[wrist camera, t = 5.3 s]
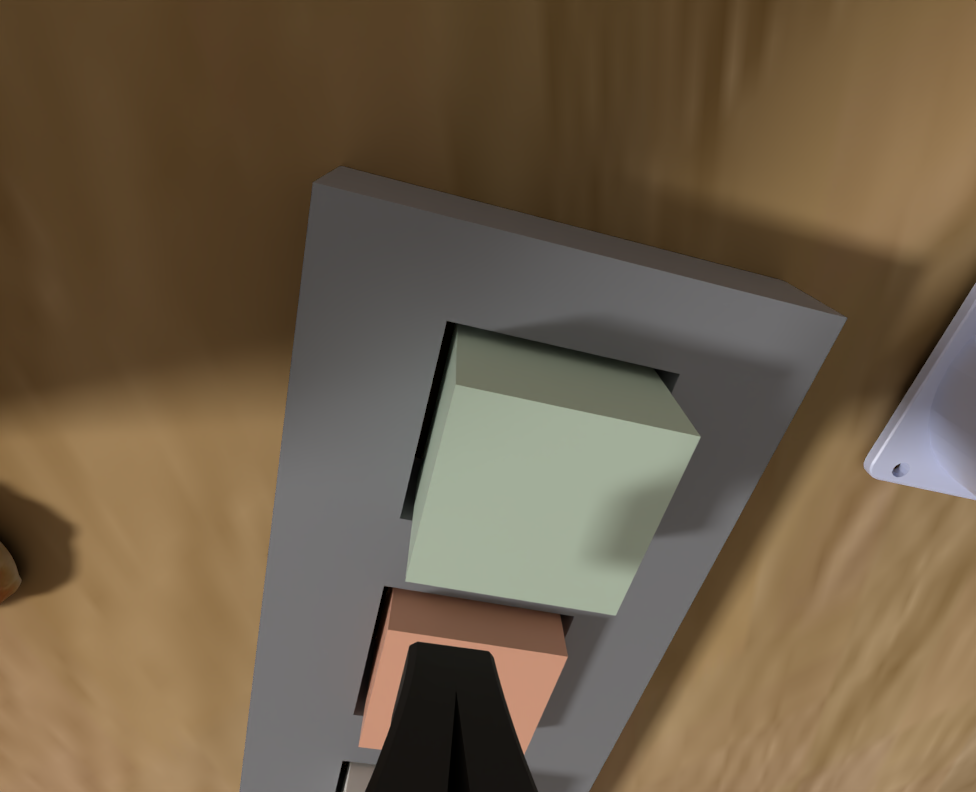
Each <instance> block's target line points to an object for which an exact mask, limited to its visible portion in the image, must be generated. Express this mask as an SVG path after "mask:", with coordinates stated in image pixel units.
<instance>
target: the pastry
mask: <svg viewBox="0 0 976 792" xmlns="http://www.w3.org/2000/svg"><path fill="white" fill-rule="evenodd" d="M21 581H22V580H21V578H20V576H19V574H18V570H17V567H16V564H15V562H14V560H13V558H12V556H11V554H10V553H9V552H8V550H7V549H6V548H5V547H4V545H3V544H2V543H1V542H0V604H1V603H2V602H3V601H4V600H5V599H6V598H7V597H9V596H10V595H12V594H13V593H14V592H15V591H16V590H17V589H18V587H19V586H20V584H21Z"/></svg>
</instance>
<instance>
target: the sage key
mask: <svg viewBox="0 0 976 792" xmlns="http://www.w3.org/2000/svg"><path fill="white" fill-rule="evenodd" d="M700 438H701V436H700V435H699V433H698V432H697V430H696V429H695V428H694V426H693V425H692V423H691V422H690V420H689V419H688V417H687V416H686V415H685V413H684V412H683V410H682V409H681V407H680V406H679V404H678V403H677V402H676V400H675V399H674V397H673V396H672V394H671V393H670V391H669V390H668V388H667V387H666V386H665V384H664V383H663V381H662V380H661V378H660V377H659V375H658V374H657V373H656V371H655V370H654V368H651V367H647V366H642V365H638V364H634V363H629V362H625V361H621V360H616V359H612V358H607V357H603V356H599V355H594V354H590V353H586V352H581V351H577V350H572V349H568V348H564V347H559V346H555V345H551V344H546V343H542V342H537V341H533V340H529V339H524V338H520V337H515V336H511V335H507V334H502V333H498V332H494V331H489V330H485V329H480V328H476V327H472V326H467V325H463V324H459V323H455V326H454V330H453V334H452V339H451V343H450V347H449V351H448V355H447V359H446V363H445V367H444V371H443V375H442V380H441V384H440V388H439V392H438V396H437V400H436V404H435V408H434V412H433V416H432V421H431V425H430V429H429V433H428V437H427V441H426V445H425V449H424V453H423V457H422V462H421V466H420V470H419V474H418V478H417V486H416V494H415V503H414V511H413V520H412V528H411V537H410V545H409V553H408V562H407V570H406V579H405V581H406V582H412V583H418V584H424V585H431V586H437V587H443V588H449V589H455V590H461V591H467V592H474V593H480V594H486V595H492V596H498V597H504V598H510V599H517V600H523V601H529V602H535V603H541V604H547V605H553V606H560V607H566V608H572V609H578V610H584V611H590V612H596V613H603V614H609V615H615V616H616V614H617V612H618V610H619V608H620V605H621V603H622V601H623V599H624V597H625V595H626V593H627V591H628V589H629V587H630V584H631V582H632V580H633V578H634V576H635V574H636V572H637V570H638V568H639V566H640V563H641V561H642V559H643V557H644V555H645V553H646V551H647V549H648V547H649V545H650V542H651V540H652V538H653V536H654V534H655V532H656V530H657V528H658V526H659V524H660V521H661V519H662V517H663V515H664V513H665V511H666V509H667V507H668V505H669V503H670V500H671V498H672V496H673V494H674V492H675V490H676V488H677V486H678V484H679V482H680V480H681V477H682V475H683V473H684V471H685V469H686V467H687V465H688V463H689V461H690V459H691V456H692V454H693V452H694V450H695V448H696V446H697V444H698V442H699V440H700Z"/></svg>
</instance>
